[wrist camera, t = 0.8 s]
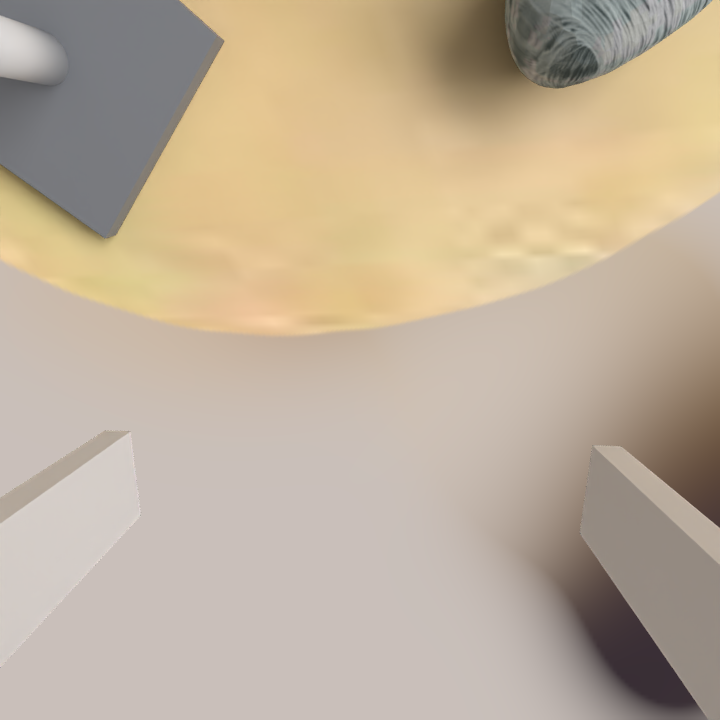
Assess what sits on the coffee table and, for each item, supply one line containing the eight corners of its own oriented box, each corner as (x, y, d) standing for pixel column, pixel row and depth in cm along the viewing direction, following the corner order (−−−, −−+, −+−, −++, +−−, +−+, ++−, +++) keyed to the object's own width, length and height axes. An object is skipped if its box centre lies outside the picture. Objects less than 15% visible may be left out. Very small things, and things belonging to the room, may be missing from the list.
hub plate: (-20, -179, 25) (-211, -336, 17) (224, 41, 29) (165, -1, 21) (-98, 82, 30) (-269, 59, 22) (115, 234, 35) (36, 262, 26)
